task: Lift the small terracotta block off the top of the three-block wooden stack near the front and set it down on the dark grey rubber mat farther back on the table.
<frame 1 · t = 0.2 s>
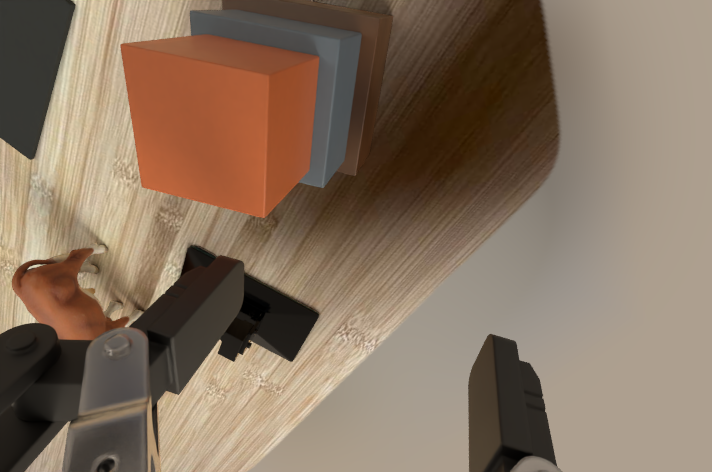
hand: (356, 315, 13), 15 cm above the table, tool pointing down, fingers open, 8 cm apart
bull figurine: (120, 290, 39), on the table
build plate: (245, 304, 36), on the table
base block: (317, 78, 24), on the table, touching middle block
middle block: (293, 89, 21), point 4 cm above the table, touching base block, top block
top block: (261, 106, 18), point 8 cm above the table, touching middle block
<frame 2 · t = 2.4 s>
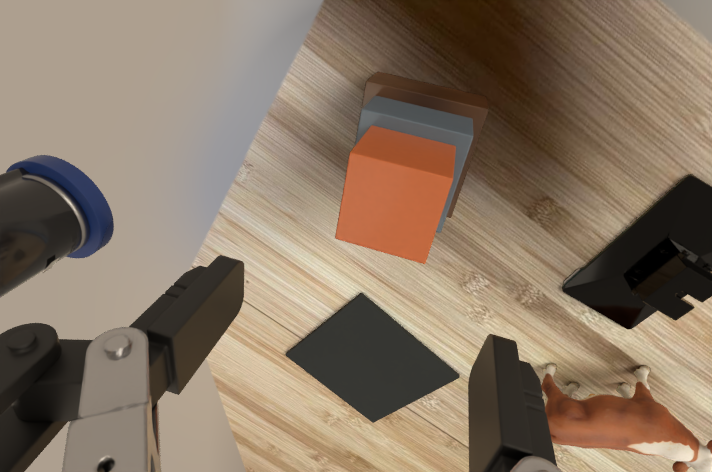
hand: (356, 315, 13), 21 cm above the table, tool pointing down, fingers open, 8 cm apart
bull figurine: (606, 376, 38), on the table
build plate: (654, 257, 31), on the table
base block: (417, 137, 31), on the table, touching middle block
middle block: (411, 153, 27), point 4 cm above the table, touching base block, top block
top block: (403, 174, 24), point 8 cm above the table, touching middle block
mat: (368, 363, 45), on the table
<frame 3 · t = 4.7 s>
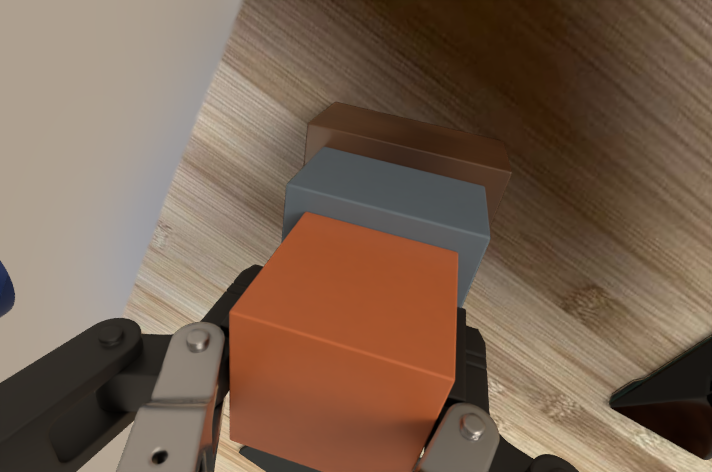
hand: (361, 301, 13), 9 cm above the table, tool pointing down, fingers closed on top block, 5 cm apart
base block: (398, 196, 21), on the table, touching middle block
middle block: (385, 234, 17), point 4 cm above the table, touching base block, top block
top block: (366, 290, 14), point 8 cm above the table, touching gripper, middle block
mat: (343, 467, 34), on the table
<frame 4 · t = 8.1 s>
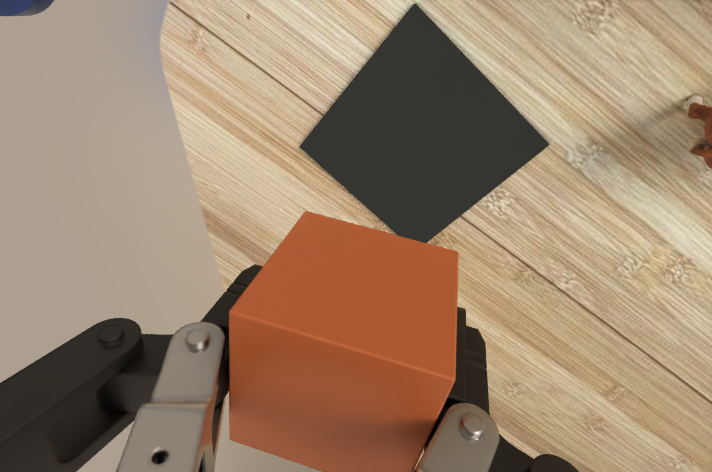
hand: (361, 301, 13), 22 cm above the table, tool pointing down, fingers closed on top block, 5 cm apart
top block: (366, 290, 14), point 21 cm above the table, touching gripper
mat: (415, 144, 32), on the table
when the fingers open (1 cm above the table, at t = 11.6 s): top block stays where it is, resting on mat.
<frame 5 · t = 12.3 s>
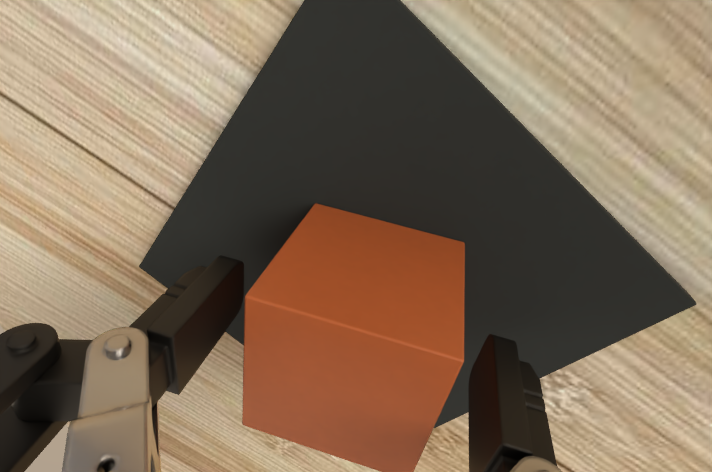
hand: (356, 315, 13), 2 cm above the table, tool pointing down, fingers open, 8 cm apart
top block: (374, 281, 14), resting on mat
mat: (372, 276, 15), on the table
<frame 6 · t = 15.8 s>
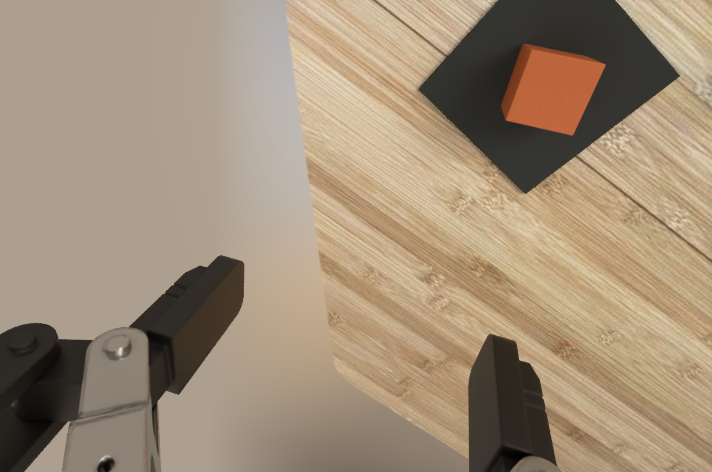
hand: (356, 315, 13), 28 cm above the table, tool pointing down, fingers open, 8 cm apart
top block: (541, 82, 33), resting on mat
mat: (539, 82, 33), on the table
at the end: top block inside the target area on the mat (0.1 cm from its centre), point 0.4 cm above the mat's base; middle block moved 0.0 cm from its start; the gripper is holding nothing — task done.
